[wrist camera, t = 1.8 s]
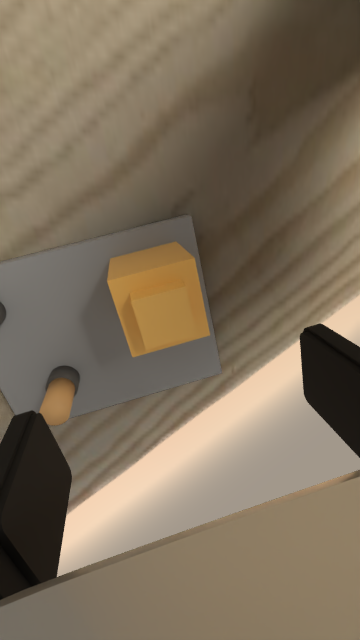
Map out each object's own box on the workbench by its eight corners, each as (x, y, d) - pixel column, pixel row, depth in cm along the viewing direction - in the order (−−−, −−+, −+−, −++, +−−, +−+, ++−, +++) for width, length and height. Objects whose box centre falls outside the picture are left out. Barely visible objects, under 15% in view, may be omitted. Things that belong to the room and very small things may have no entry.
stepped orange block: (176, 241, 23) (200, 263, 16) (189, 302, 25) (216, 345, 18) (110, 258, 22) (106, 288, 16) (129, 319, 25) (133, 369, 18)
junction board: (187, 214, 24) (207, 221, 18) (217, 364, 30) (239, 403, 24) (-52, 274, 22) (-107, 301, 17) (29, 420, 28) (7, 475, 23)
